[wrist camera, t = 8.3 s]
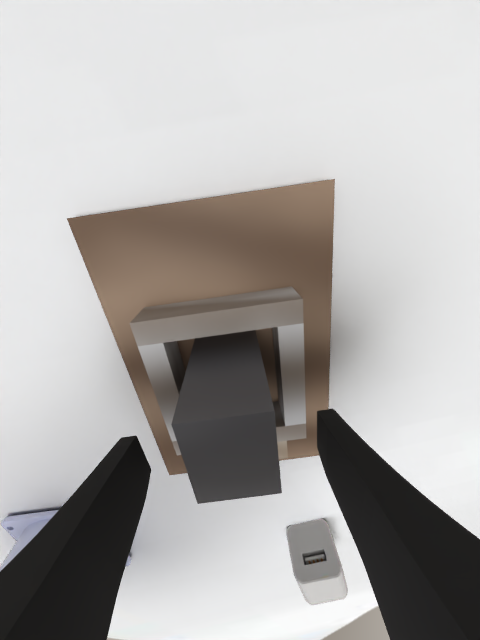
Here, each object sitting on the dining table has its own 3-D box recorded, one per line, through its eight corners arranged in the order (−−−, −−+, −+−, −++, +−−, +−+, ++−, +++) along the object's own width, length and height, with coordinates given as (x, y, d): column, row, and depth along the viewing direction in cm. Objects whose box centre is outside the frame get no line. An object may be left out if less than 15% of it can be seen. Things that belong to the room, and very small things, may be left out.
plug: (261, 391, 15) (281, 492, 9) (209, 398, 15) (197, 503, 9) (255, 329, 13) (274, 411, 8) (195, 337, 13) (171, 424, 8)
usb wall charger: (325, 516, 22) (345, 575, 19) (335, 551, 25) (353, 608, 21) (284, 525, 23) (295, 585, 19) (298, 559, 25) (310, 617, 22)
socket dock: (323, 447, 18) (338, 481, 16) (171, 467, 18) (162, 504, 16) (329, 181, 11) (357, 170, 8) (75, 218, 11) (32, 218, 9)
